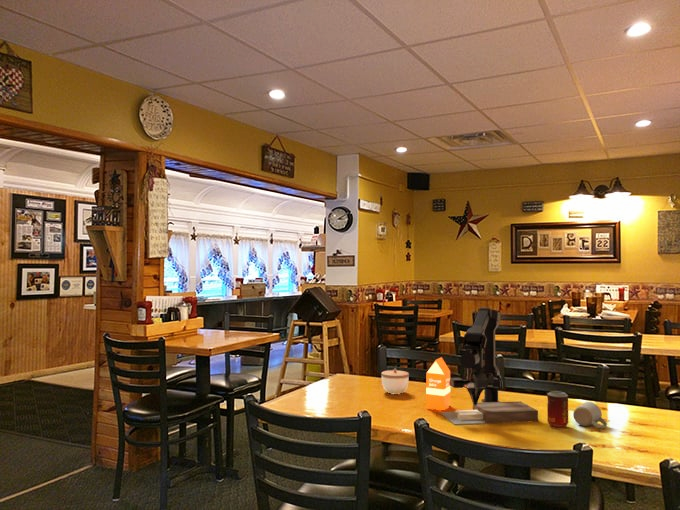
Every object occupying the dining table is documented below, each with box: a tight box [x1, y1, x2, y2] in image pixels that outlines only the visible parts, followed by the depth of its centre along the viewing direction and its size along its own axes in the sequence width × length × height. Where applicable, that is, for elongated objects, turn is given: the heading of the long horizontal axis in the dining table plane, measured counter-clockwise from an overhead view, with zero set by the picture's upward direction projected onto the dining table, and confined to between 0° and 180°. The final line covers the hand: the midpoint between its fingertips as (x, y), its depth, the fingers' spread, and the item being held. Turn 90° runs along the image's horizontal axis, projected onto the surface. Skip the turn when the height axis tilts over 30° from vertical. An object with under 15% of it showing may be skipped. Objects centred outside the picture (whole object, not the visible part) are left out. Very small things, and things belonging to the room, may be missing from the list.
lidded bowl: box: [381, 368, 410, 395], centre depth 247 cm, size 13×13×11 cm
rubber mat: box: [440, 411, 487, 426], centre depth 205 cm, size 16×12×1 cm
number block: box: [454, 409, 483, 420], centre depth 205 cm, size 6×9×2 cm, turn 96°
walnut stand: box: [472, 400, 539, 424], centre depth 208 cm, size 14×20×4 cm
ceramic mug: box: [572, 401, 608, 430], centre depth 197 cm, size 11×8×8 cm
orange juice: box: [425, 356, 451, 411], centre depth 222 cm, size 8×9×20 cm
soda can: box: [546, 390, 569, 430], centre depth 196 cm, size 7×7×12 cm
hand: (474, 404), depth 206 cm, fingers closed
